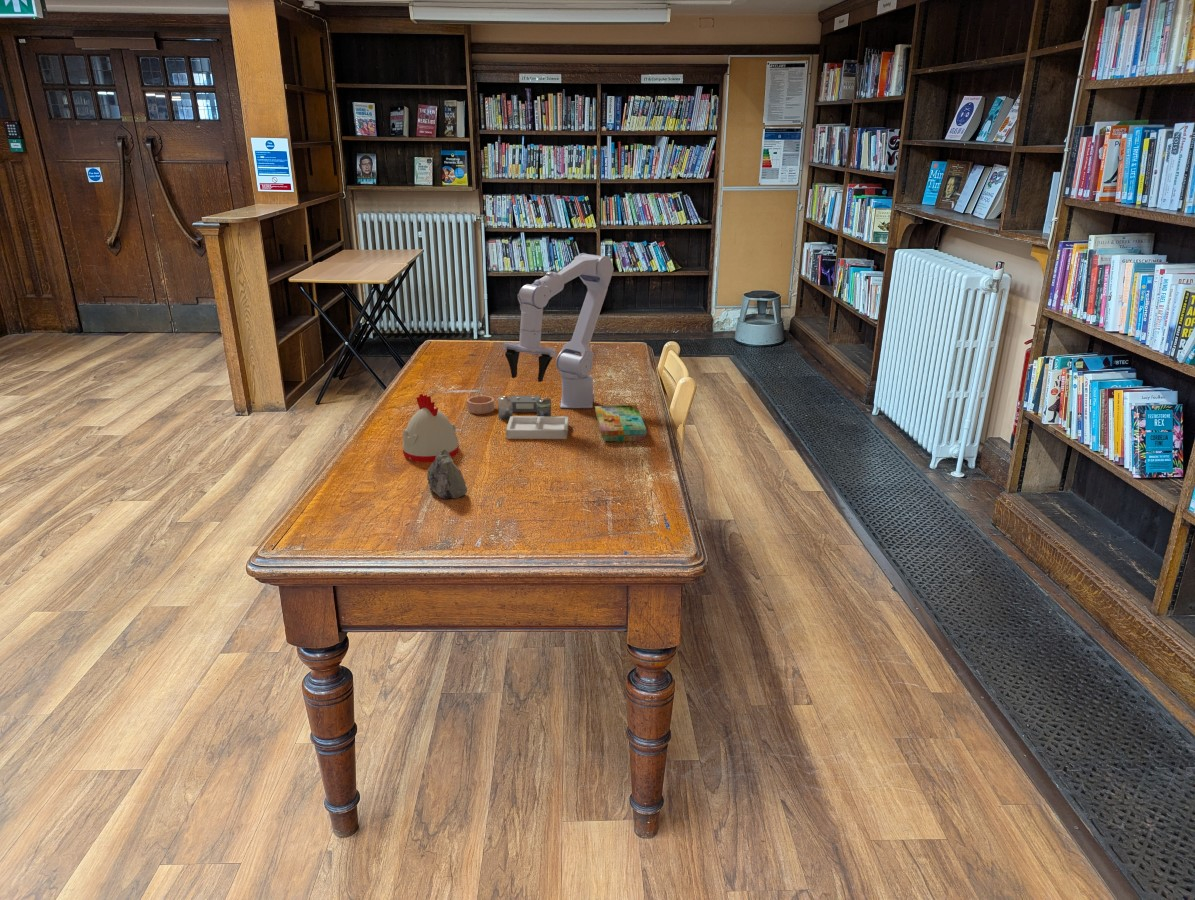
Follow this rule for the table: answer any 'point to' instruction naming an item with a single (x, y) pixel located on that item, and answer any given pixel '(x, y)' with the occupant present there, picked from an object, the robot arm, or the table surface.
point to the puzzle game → (620, 423)
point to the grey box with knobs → (524, 403)
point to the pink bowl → (480, 404)
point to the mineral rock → (446, 477)
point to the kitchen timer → (428, 433)
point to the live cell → (543, 407)
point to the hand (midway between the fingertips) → (527, 379)
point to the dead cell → (505, 407)
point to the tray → (537, 427)
